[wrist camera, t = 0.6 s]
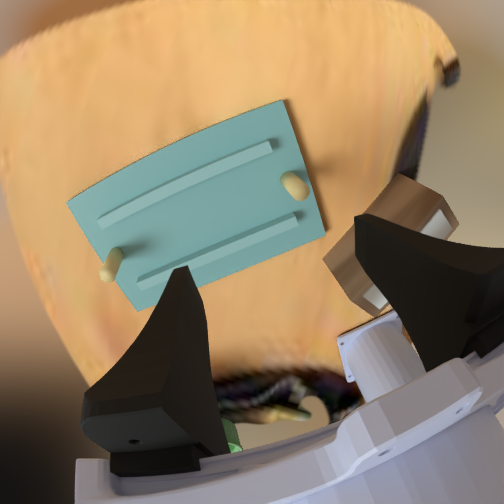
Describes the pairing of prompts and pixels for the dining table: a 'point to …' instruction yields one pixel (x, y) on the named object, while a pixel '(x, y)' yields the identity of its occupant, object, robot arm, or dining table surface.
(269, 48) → the dining table surface
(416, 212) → the walnut frame
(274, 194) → the light blue peg board
